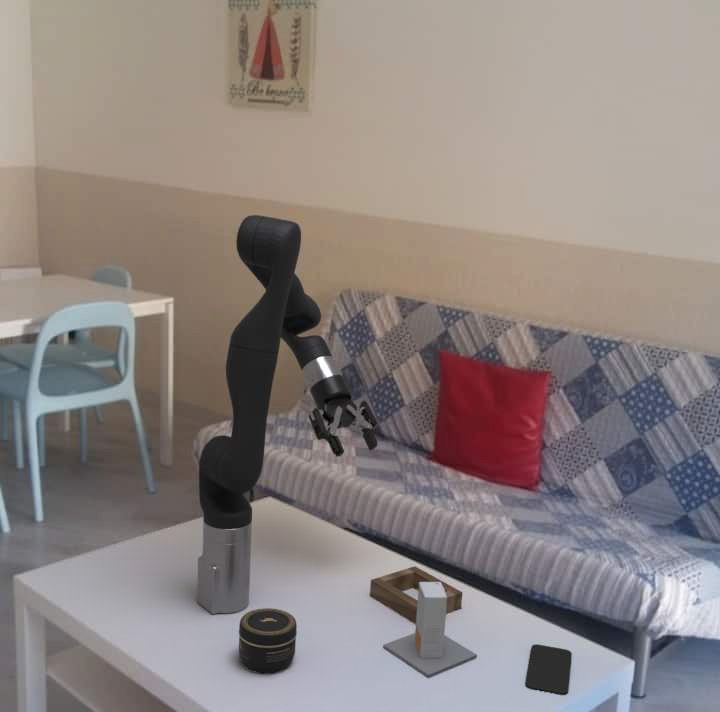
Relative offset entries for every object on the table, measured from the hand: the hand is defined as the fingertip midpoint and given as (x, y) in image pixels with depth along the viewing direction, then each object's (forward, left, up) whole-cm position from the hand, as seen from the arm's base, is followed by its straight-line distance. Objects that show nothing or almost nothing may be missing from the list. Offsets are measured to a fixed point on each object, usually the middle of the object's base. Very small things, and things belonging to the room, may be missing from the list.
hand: (357, 451), depth 194 cm
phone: (+9, -46, -29) cm, 55 cm away
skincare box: (-5, -29, -28) cm, 41 cm away
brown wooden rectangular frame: (+6, -14, -29) cm, 32 cm away
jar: (-31, -16, -29) cm, 45 cm away
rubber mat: (-5, -30, -29) cm, 42 cm away
